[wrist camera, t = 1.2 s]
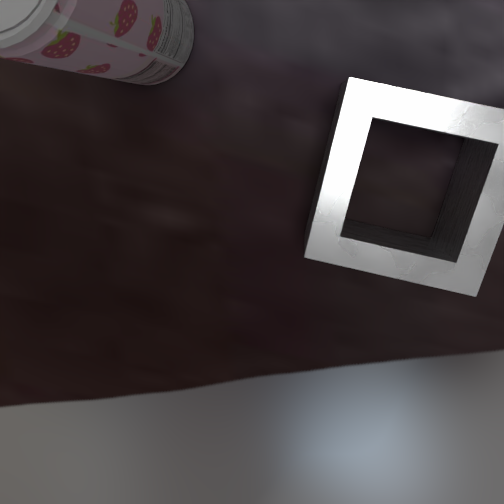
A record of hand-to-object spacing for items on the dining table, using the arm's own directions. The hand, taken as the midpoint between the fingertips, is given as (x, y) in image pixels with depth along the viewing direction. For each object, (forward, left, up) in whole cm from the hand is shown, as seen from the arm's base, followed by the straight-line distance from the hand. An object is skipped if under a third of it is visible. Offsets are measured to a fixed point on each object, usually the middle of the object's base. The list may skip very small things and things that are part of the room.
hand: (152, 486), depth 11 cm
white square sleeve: (-6, +8, -20) cm, 22 cm away
